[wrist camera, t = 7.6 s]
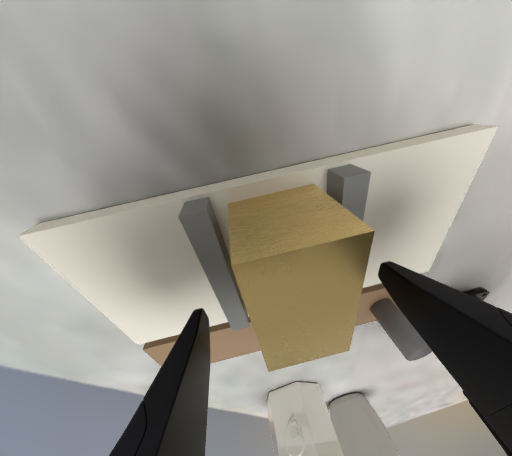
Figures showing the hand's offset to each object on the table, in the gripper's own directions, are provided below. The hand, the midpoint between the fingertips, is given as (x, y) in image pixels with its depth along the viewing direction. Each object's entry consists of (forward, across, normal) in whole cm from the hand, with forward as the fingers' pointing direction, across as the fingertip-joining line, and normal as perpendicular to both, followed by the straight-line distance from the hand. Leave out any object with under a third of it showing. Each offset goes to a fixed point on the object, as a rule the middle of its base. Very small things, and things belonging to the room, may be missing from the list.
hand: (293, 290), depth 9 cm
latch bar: (+3, 0, 0) cm, 3 cm away
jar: (+4, +1, +30) cm, 31 cm away
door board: (+4, 0, +3) cm, 5 cm away
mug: (+4, -10, +43) cm, 45 cm away
